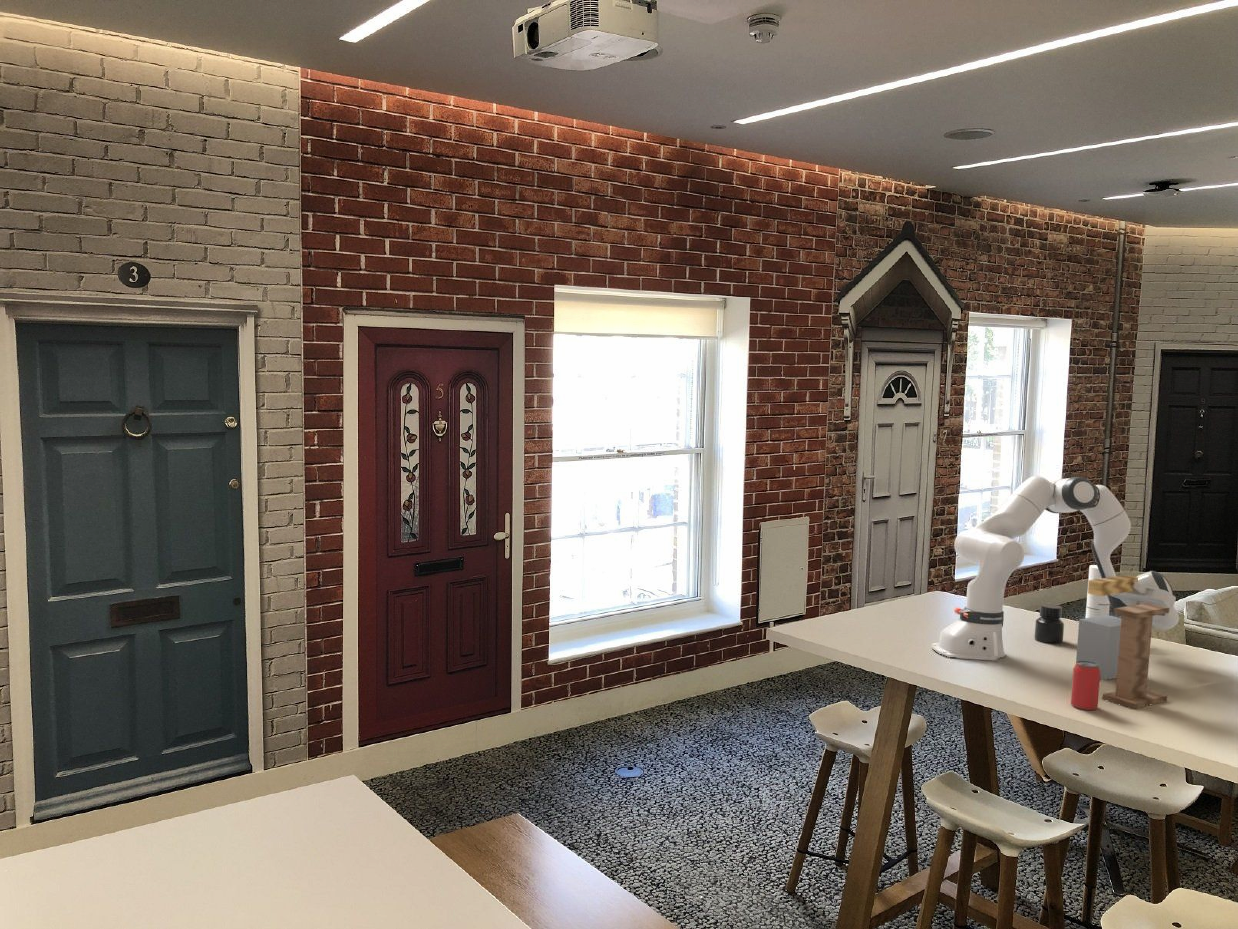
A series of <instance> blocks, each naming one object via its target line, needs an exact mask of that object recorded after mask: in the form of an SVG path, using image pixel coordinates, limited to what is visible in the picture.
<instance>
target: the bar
mask: <svg viewBox="0 0 1238 929" xmlns="http://www.w3.org/2000/svg"><path fill="white" fill-rule="evenodd" d="M1088 580H1089V579H1088ZM1131 582H1137V583H1138V577H1137V576H1132V575H1128V574H1127V575H1126V574H1124V575H1119V576H1117V575H1116V577H1109V578H1102V579H1095V580H1089V584H1088V583H1087V593H1088V594H1093V595H1097V596H1105V595H1111V594H1118V593H1124V592H1131V591H1137V590H1135V589H1132V587H1130V585H1131Z"/></svg>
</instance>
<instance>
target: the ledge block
mask: <svg viewBox="0 0 1238 929" xmlns="http://www.w3.org/2000/svg"><path fill="white" fill-rule="evenodd" d="M1121 618H1122V617H1117V616H1112V615H1110V614H1109V615H1103V616H1097V617H1091V618H1086V617H1085V618H1080V619H1079V621H1078V632H1077V644H1076V657H1075V658H1076V659H1075V663H1076V662H1077V661H1090V662H1094V663H1097V664H1098V665H1099V666H1098V667H1099V670H1100V679H1101V678H1102V679H1101V680H1104V679H1105V680H1106V681H1108V679H1109V680H1112V678H1114V679H1116V678H1115V677H1117V669H1118V656H1119V644H1120V631H1121ZM1105 680H1104V681H1105Z"/></svg>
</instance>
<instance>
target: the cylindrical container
mask: <svg viewBox="0 0 1238 929" xmlns="http://www.w3.org/2000/svg"><path fill="white" fill-rule="evenodd" d="M1095 579H1102V578H1101V575H1100V573H1099V570H1098V567H1097V564H1091V565H1089V568H1088V581H1087V585H1088V584H1089V580H1095ZM1086 595H1087V596H1086V607H1085V618H1091V617H1097V616H1103V615H1109V616H1110V607H1111V605H1110V603H1109V600H1108V596H1107V595H1105V596H1097V595H1093V594H1088V592H1087V593H1086Z"/></svg>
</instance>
